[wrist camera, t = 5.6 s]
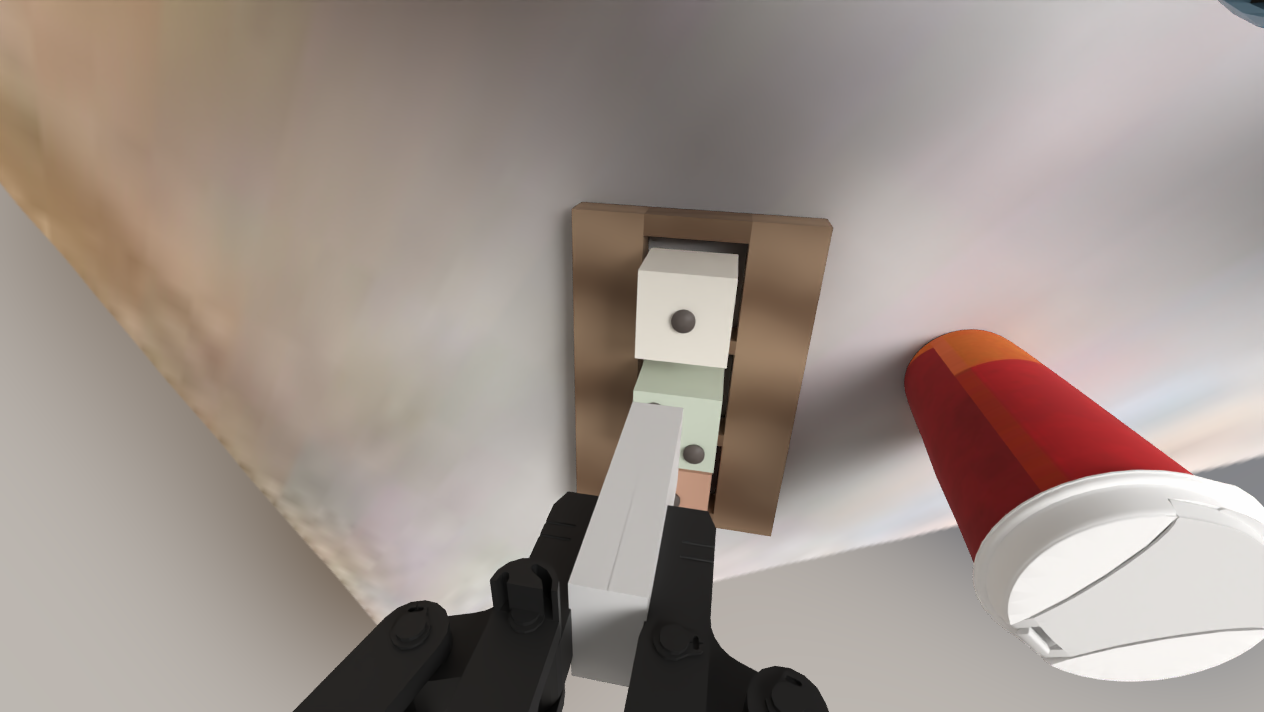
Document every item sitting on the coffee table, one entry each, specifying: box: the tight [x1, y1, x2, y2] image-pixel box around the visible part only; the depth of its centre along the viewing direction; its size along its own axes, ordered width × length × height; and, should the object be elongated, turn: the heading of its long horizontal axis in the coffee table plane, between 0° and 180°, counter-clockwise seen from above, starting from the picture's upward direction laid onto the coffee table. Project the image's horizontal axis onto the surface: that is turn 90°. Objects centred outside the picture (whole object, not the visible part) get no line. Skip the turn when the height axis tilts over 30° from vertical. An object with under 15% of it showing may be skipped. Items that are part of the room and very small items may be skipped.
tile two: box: [633, 359, 724, 473], centre depth 29 cm, size 4×4×4 cm
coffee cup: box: [904, 329, 1264, 681], centre depth 23 cm, size 8×8×15 cm
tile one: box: [635, 248, 738, 368], centre depth 26 cm, size 4×4×4 cm
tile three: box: [673, 468, 712, 511], centre depth 33 cm, size 4×4×4 cm
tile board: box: [572, 202, 833, 536], centre depth 32 cm, size 20×13×2 cm, turn 178°
